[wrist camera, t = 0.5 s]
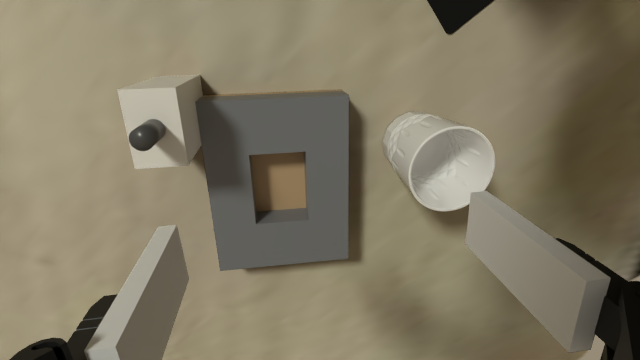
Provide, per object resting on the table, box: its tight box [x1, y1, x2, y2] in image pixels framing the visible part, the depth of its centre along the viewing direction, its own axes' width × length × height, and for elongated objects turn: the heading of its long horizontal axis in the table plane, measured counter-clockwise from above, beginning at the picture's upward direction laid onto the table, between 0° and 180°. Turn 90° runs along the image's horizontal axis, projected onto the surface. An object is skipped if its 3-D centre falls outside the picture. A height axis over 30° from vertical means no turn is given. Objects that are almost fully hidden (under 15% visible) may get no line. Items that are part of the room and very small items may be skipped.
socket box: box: [195, 90, 349, 271], centre depth 39 cm, size 18×14×4 cm
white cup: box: [383, 112, 495, 211], centre depth 36 cm, size 8×8×10 cm
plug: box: [117, 75, 203, 169], centre depth 31 cm, size 6×4×13 cm, turn 2°
